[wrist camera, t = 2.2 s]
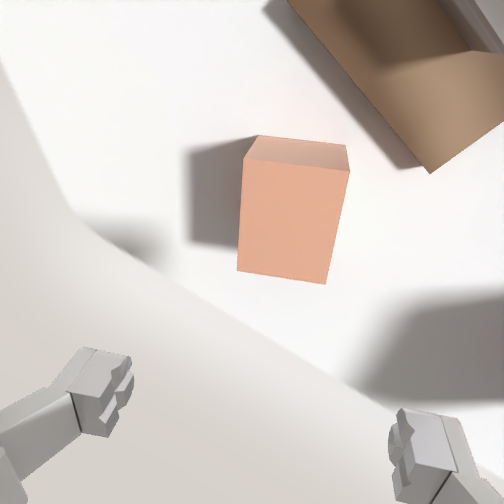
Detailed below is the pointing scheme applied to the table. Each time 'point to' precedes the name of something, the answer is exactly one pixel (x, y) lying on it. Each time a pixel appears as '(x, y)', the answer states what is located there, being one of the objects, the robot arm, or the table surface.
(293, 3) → the base
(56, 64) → the table surface
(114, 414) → the robot arm
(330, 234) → the salmon rectangular block
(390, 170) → the table surface
